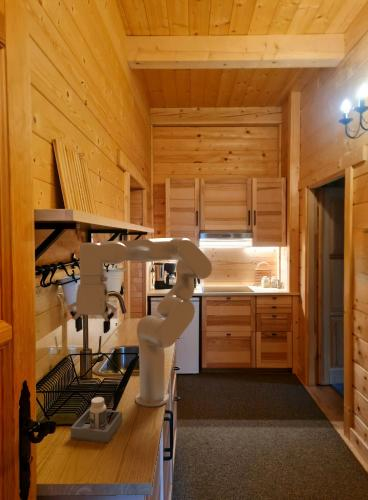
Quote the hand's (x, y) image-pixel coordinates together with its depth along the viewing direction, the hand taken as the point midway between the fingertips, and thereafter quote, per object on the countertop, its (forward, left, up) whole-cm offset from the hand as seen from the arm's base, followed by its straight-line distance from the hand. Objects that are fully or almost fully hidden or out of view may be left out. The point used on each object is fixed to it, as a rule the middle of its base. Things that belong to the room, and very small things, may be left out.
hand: (92, 331), depth 114 cm
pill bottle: (+4, +3, -30) cm, 30 cm away
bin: (+5, +4, -30) cm, 31 cm away
